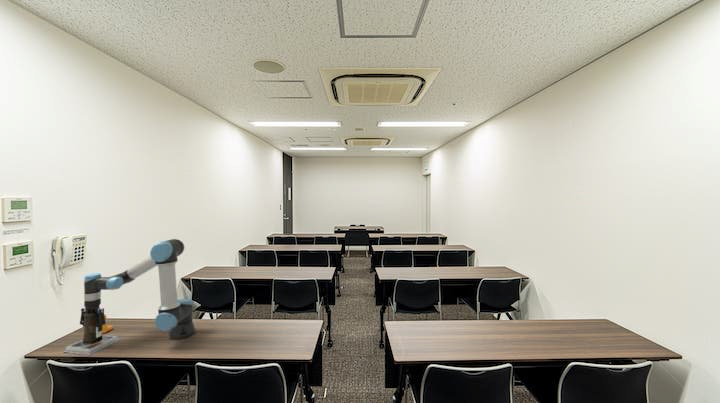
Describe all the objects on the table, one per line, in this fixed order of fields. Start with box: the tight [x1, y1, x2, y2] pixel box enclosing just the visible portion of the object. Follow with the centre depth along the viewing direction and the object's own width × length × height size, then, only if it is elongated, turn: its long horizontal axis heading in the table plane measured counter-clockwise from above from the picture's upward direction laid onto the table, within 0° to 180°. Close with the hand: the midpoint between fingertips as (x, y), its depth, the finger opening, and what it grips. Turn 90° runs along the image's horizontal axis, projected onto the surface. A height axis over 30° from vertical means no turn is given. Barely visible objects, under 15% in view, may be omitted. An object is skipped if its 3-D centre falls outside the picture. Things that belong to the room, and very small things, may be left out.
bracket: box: [102, 313, 114, 334], centre depth 198 cm, size 11×7×12 cm, turn 92°
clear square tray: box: [62, 334, 120, 356], centre depth 178 cm, size 18×18×3 cm
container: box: [82, 312, 102, 345], centre depth 178 cm, size 9×9×18 cm
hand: (92, 336), depth 178 cm, fingers closed on container, 8 cm apart
